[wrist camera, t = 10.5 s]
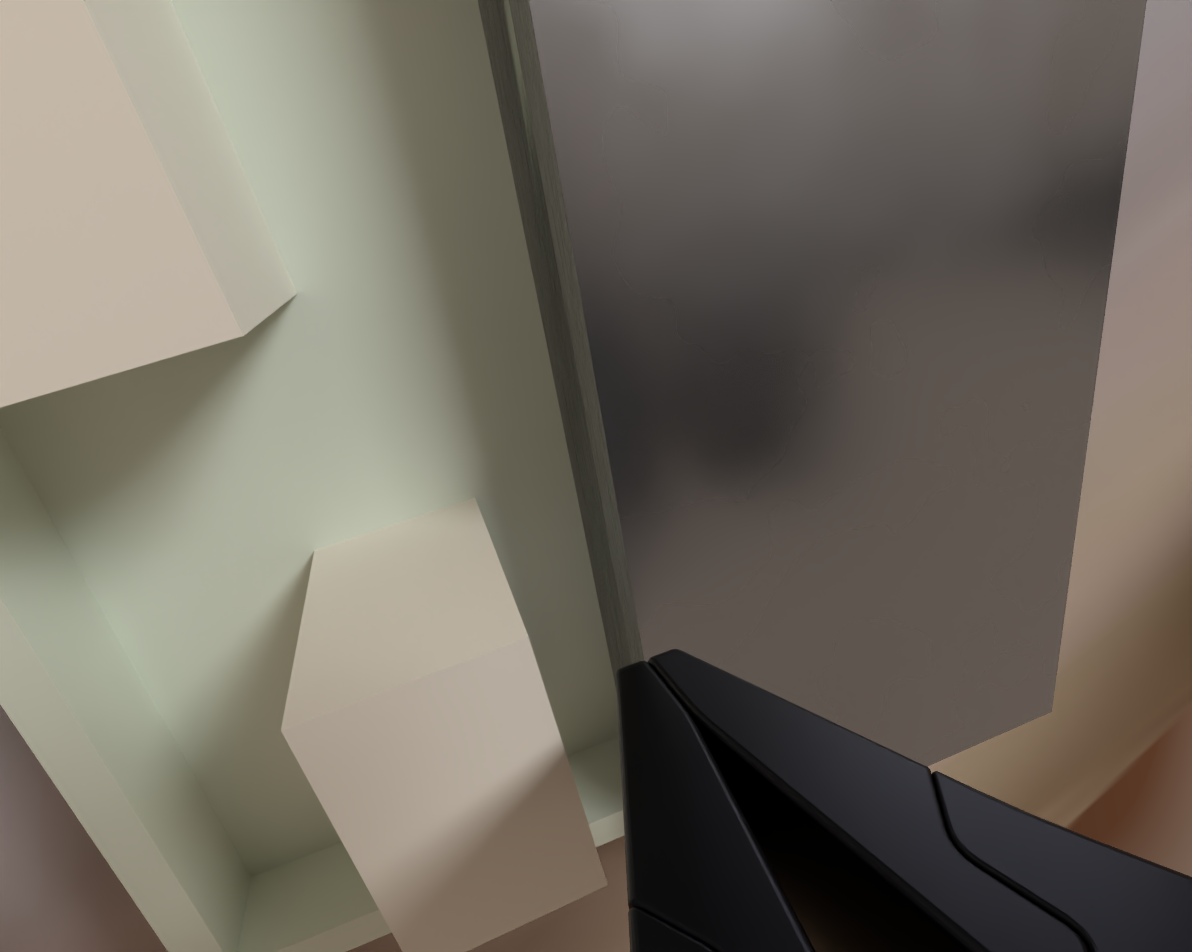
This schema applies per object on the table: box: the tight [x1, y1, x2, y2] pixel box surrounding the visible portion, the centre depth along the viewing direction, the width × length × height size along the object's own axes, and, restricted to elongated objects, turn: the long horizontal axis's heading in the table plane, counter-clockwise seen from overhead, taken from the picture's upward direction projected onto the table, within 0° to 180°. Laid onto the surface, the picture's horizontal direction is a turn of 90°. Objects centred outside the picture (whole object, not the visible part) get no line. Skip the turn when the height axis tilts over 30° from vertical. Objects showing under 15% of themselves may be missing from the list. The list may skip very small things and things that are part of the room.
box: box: [0, 0, 624, 952], centre depth 9 cm, size 8×17×2 cm, turn 11°
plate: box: [478, 0, 1147, 766], centre depth 10 cm, size 8×18×3 cm, turn 11°
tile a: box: [0, 0, 297, 408], centre depth 6 cm, size 4×4×2 cm
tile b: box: [281, 498, 608, 952], centre depth 9 cm, size 4×4×2 cm
